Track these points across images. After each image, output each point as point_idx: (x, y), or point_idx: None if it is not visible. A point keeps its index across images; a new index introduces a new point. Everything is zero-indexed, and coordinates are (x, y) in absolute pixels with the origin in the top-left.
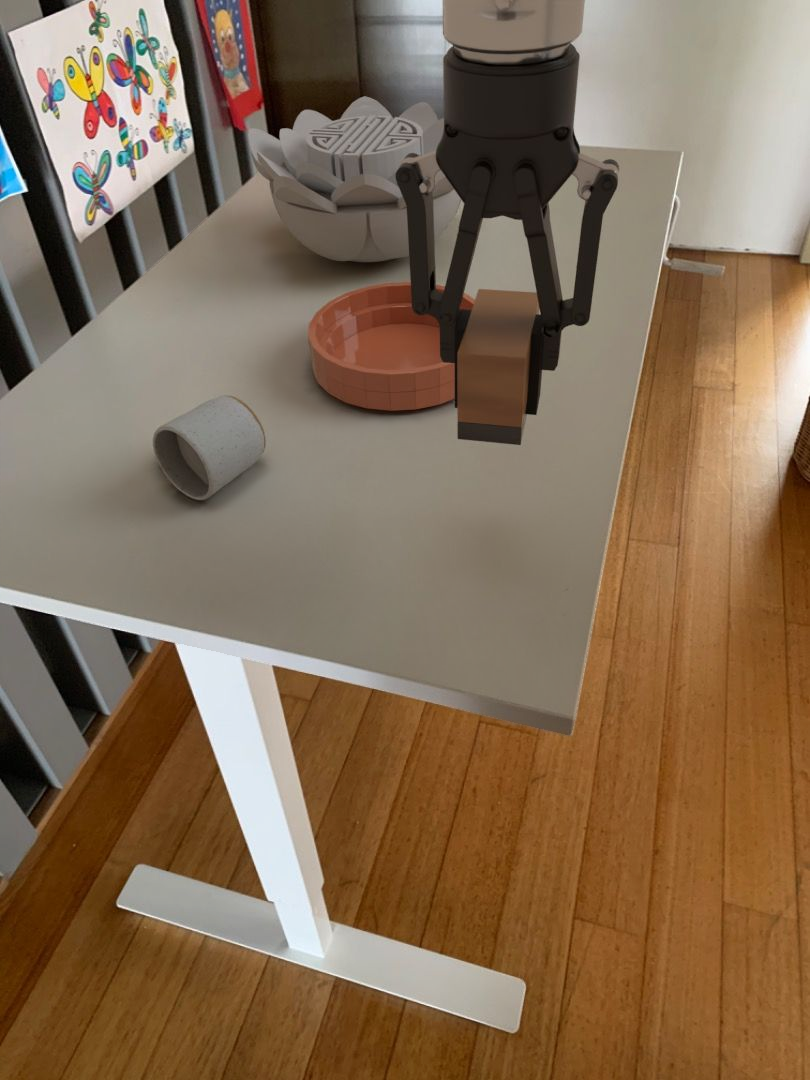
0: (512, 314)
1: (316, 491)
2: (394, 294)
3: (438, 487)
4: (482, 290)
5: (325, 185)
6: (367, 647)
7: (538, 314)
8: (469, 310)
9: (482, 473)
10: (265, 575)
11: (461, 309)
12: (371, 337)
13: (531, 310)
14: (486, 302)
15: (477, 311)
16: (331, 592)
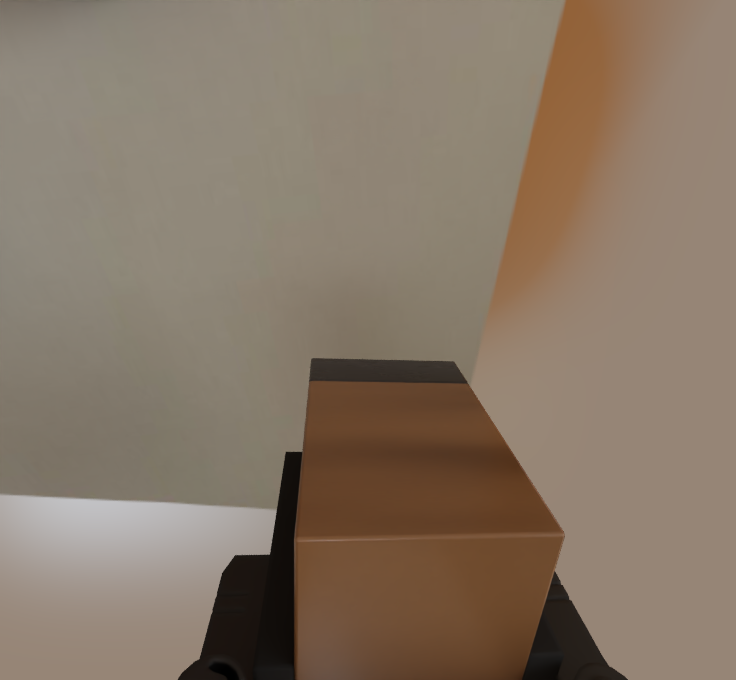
0: (447, 677)
1: (62, 252)
2: None
3: (256, 219)
4: (314, 550)
5: None
6: (240, 490)
7: (537, 655)
8: (286, 672)
9: (321, 174)
10: (78, 419)
11: (253, 668)
12: None
13: (516, 647)
14: (345, 629)
15: (318, 675)
16: (173, 432)
